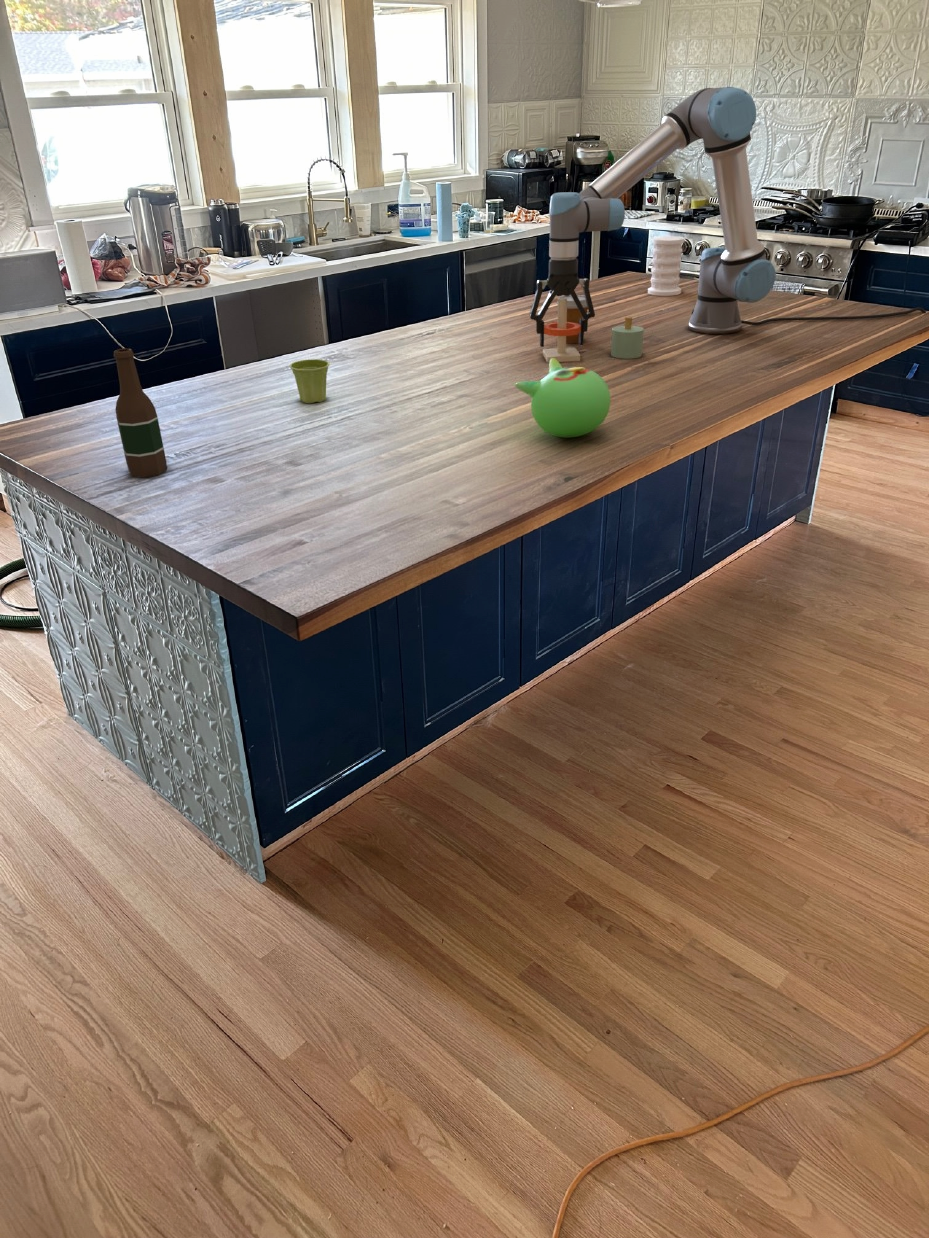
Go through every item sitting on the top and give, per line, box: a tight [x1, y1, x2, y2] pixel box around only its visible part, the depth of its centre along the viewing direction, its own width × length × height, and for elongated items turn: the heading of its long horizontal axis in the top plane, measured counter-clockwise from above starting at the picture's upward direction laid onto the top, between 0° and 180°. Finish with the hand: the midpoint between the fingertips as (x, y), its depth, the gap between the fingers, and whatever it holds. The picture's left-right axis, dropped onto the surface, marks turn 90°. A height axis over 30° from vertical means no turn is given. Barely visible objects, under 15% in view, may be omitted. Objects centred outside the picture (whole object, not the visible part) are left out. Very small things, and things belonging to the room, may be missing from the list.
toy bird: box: [514, 358, 611, 439], centre depth 193 cm, size 18×17×15 cm
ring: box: [544, 321, 581, 337], centre depth 249 cm, size 10×10×2 cm
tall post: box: [542, 297, 581, 364], centre depth 249 cm, size 9×9×16 cm
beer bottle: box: [113, 347, 168, 479], centre depth 178 cm, size 8×8×24 cm
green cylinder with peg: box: [610, 316, 645, 360], centre depth 251 cm, size 8×8×10 cm
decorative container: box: [647, 235, 685, 297], centre depth 322 cm, size 12×12×18 cm
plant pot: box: [289, 358, 330, 404], centre depth 222 cm, size 9×9×9 cm
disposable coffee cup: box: [556, 294, 589, 344], centre depth 266 cm, size 10×10×12 cm
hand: (561, 345), depth 251 cm, fingers closed on ring, 10 cm apart
